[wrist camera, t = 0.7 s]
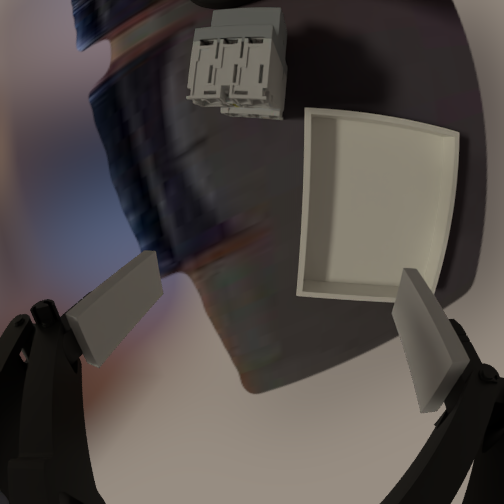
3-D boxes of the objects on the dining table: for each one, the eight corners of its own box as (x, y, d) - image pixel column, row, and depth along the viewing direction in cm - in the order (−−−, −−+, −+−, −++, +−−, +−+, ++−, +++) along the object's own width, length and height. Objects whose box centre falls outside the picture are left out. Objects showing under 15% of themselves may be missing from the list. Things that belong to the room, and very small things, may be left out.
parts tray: (305, 112, 33) (304, 107, 29) (445, 133, 29) (459, 132, 25) (298, 281, 43) (296, 295, 39) (422, 289, 39) (430, 303, 35)
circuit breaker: (290, 33, 29) (277, -20, 15) (282, 120, 34) (265, 101, 21) (239, 32, 30) (203, -15, 17) (230, 116, 36) (186, 101, 22)
